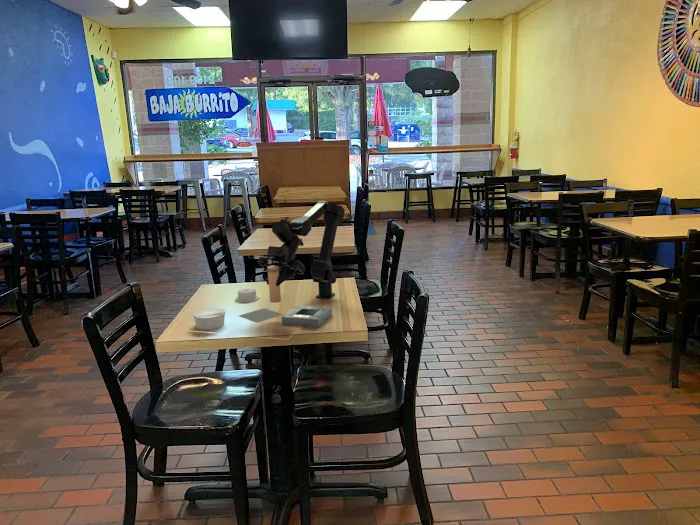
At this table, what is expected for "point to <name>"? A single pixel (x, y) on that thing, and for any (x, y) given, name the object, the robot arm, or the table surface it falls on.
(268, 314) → the mat
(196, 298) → the table surface
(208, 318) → the ramekin
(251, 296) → the mechanical component
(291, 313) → the flange plate
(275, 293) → the peg
